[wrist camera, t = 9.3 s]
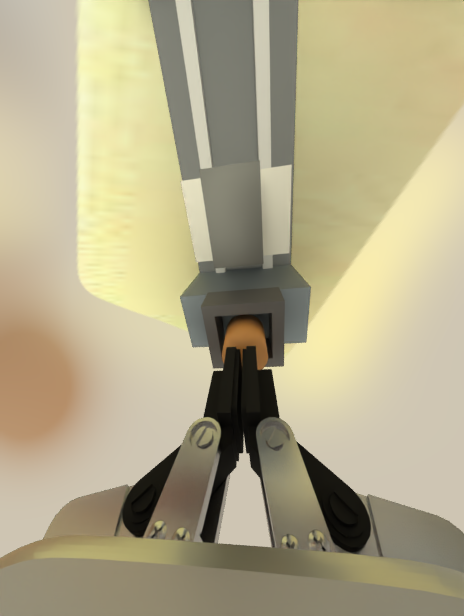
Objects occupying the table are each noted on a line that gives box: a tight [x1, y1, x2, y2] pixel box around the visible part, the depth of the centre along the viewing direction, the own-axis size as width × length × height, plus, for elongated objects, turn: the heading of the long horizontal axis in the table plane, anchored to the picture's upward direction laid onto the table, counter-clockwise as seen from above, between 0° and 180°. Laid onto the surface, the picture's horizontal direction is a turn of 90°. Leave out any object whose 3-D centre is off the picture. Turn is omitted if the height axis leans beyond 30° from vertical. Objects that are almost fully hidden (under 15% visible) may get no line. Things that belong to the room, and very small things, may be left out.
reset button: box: [222, 314, 268, 370], centre depth 13 cm, size 3×3×3 cm
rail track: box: [148, 0, 311, 368], centre depth 13 cm, size 30×10×12 cm, turn 6°
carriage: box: [181, 160, 292, 269], centre depth 14 cm, size 6×8×8 cm
